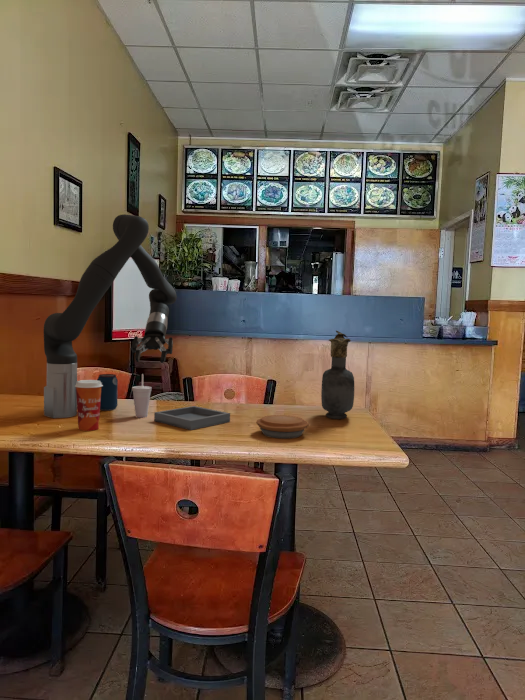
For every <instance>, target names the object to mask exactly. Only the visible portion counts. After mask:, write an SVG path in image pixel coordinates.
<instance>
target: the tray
mask: <svg viewBox="0 0 525 700" xmlns="http://www.w3.org/2000/svg"><path fill="white" fill-rule="evenodd" d="M153 417H154V418H153V420H154V422H155V423H159V424H165V425H168V426H172V427H177V428H181V429H185V430H188V431H193V430H197V429H204V428H208V427H212V426H216V425H221V424H226V423H231V413H230V412H225V411H221V410H217V409H213V408H206V407H202V406H201V407H200V406H196V405H192V406H191V405H190V406H187V407H186V406H185V407H178V408H174V409H168V410H167V409H166V410H160V411H154V416H153Z"/></svg>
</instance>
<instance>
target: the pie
mask: <svg viewBox="0 0 525 700" xmlns="http://www.w3.org/2000/svg"><path fill="white" fill-rule="evenodd" d="M255 423H256V424H257V426H258V427H259V429H260V430H261V433H262V434H263V435H264V436H265V437H269V438H273V439H282V440H283V439H285V440H287V439H295V438H299V437H301V436H302V435H303V433H304V431H305V429H307V428H308V427H309V425H310V424H309V422H308V421H307V420H304V419H303V418H301V417H299V416H294V415H286V414H271V415H264V416H262V417H261V418H259V419H257V420H256V421H255Z"/></svg>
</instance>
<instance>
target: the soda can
mask: <svg viewBox="0 0 525 700" xmlns="http://www.w3.org/2000/svg"><path fill="white" fill-rule="evenodd" d="M96 380H98V381H101V384H102V385H103V386H102V387H101V401H100V411H114V410H116V409H117V407H118V389H119V388H118V387H119V386H118V378H117V376H116V374H113V373H101V374H99V375H98V377H97V379H96Z"/></svg>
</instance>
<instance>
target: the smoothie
mask: <svg viewBox="0 0 525 700" xmlns="http://www.w3.org/2000/svg"><path fill="white" fill-rule="evenodd" d="M131 391H132V395H133V406H134V411H135V413H134V414H135V417H136V418H147V417H148V415H149V414H148V413H149V406H150V398H151V393H152V391H153V390H152V386H148V385H144V373H142V374H141V385H136V386H132V387H131Z"/></svg>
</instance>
